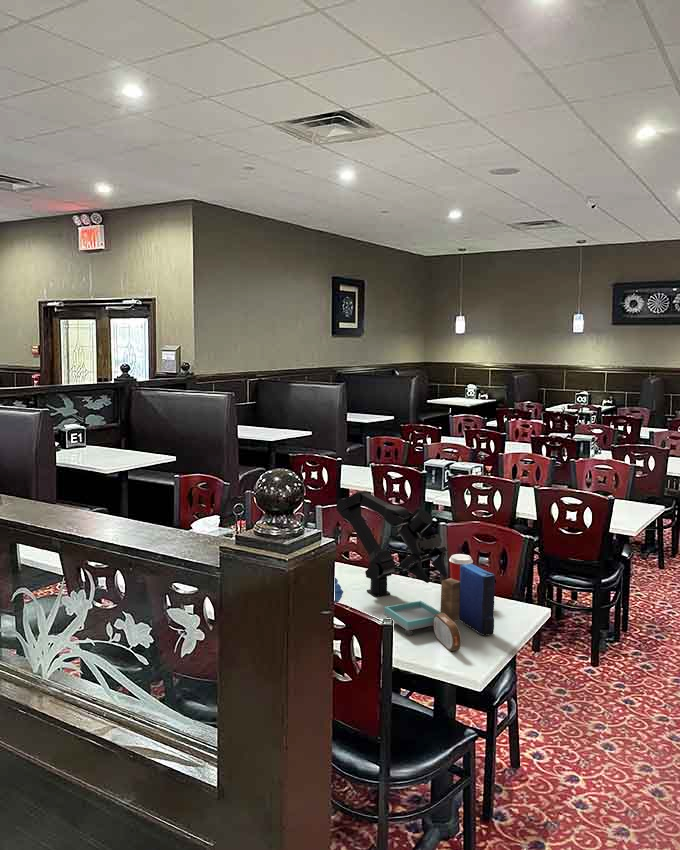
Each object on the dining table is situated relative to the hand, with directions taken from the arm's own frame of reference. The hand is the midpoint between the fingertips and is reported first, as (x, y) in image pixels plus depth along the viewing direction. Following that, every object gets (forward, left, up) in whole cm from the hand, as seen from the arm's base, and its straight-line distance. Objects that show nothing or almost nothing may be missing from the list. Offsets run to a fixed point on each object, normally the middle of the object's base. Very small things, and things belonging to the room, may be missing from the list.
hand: (437, 579), depth 251 cm
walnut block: (+6, +2, -12) cm, 13 cm away
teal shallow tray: (+6, -12, -12) cm, 18 cm away
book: (+16, +5, -12) cm, 20 cm away
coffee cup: (-9, +17, -12) cm, 23 cm away
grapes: (-17, -29, -12) cm, 36 cm away
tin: (+22, -11, -12) cm, 27 cm away
